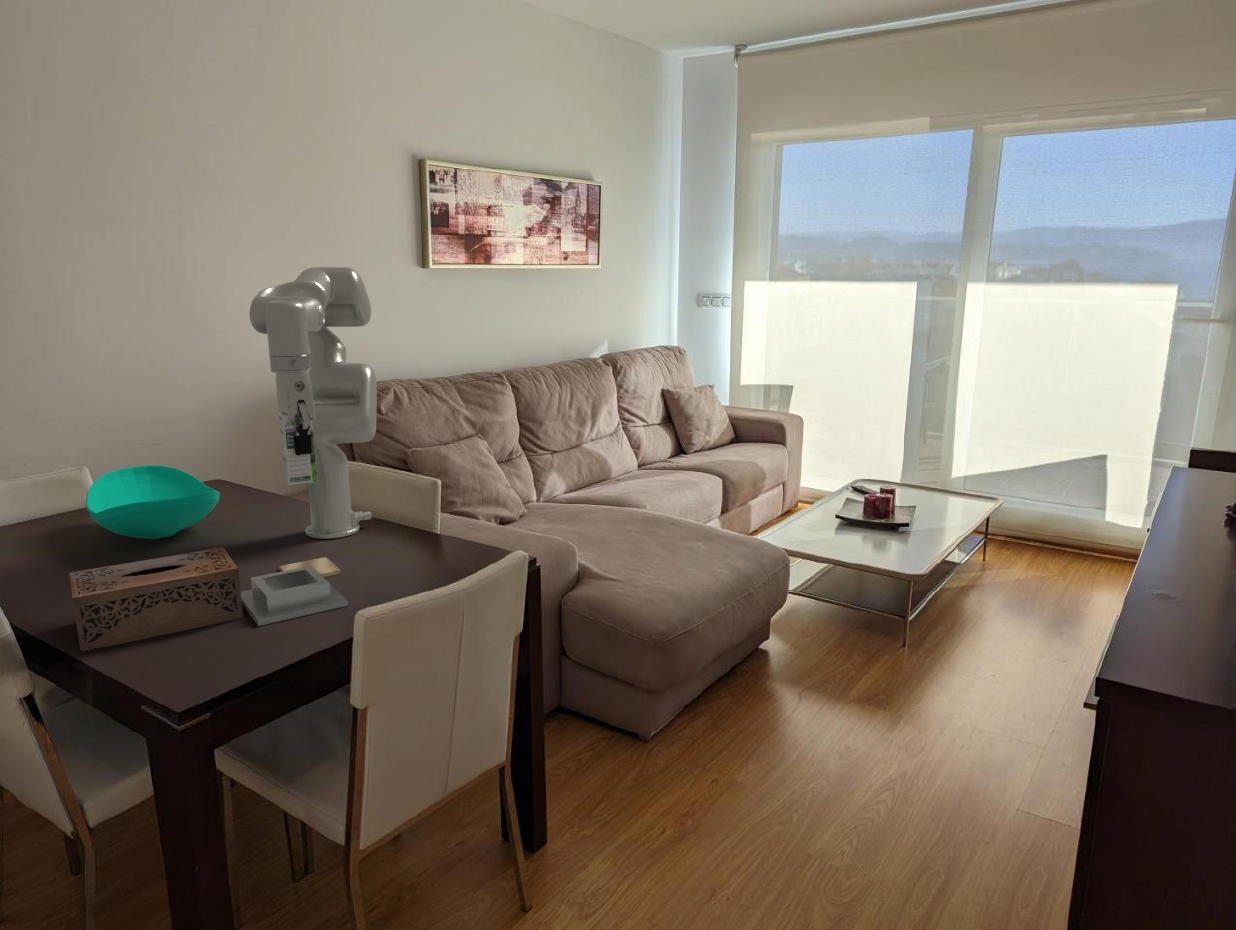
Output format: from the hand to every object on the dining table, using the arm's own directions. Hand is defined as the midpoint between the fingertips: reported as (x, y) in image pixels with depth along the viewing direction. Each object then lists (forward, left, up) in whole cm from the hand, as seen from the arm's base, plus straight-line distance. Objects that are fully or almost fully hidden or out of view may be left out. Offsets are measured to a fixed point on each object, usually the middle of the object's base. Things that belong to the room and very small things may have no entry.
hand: (298, 449), depth 175 cm
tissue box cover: (+30, +9, -27) cm, 41 cm away
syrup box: (0, 0, -7) cm, 7 cm away
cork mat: (-1, -1, -27) cm, 27 cm away
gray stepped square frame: (+7, +14, -27) cm, 31 cm away
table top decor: (+21, -48, -27) cm, 59 cm away
